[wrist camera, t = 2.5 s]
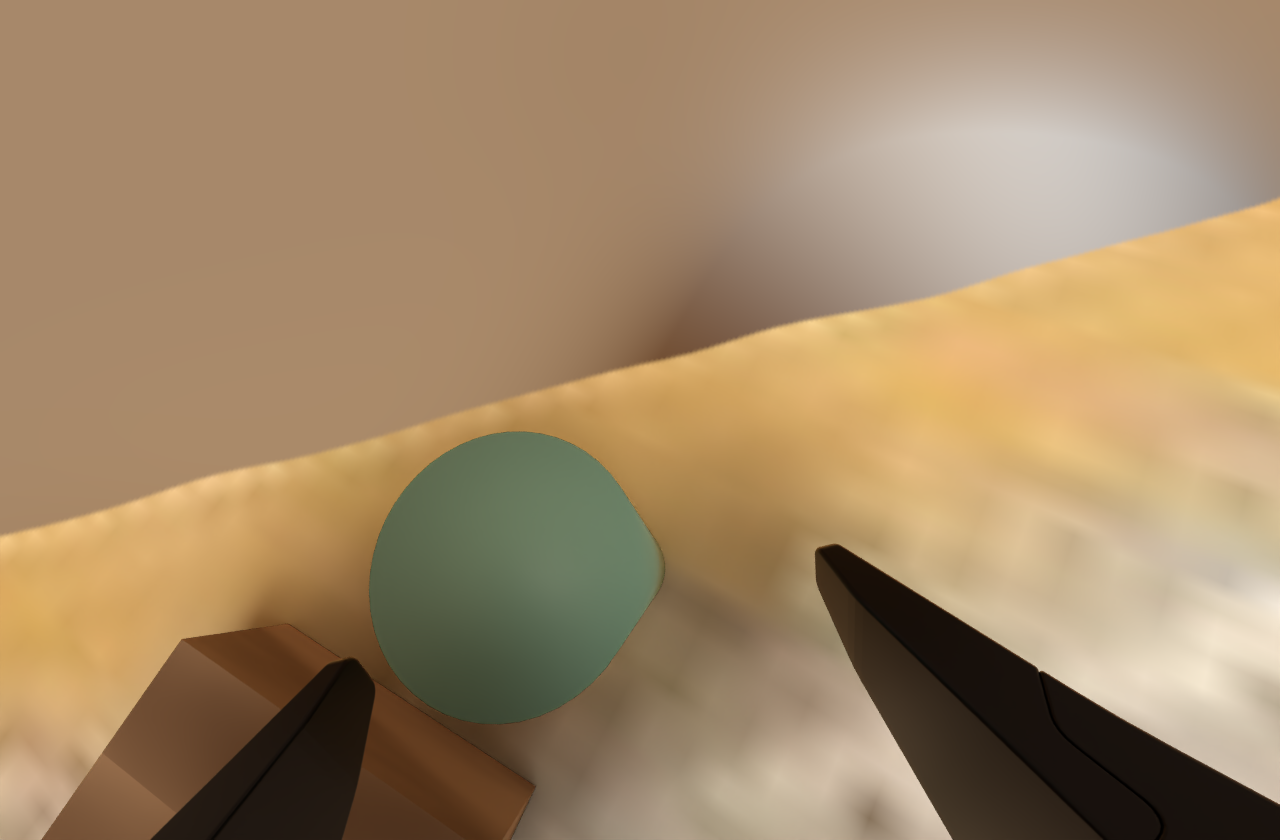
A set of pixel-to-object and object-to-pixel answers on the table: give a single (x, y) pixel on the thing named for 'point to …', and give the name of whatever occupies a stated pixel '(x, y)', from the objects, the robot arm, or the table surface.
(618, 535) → the peg
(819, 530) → the table surface
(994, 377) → the table surface
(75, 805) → the hole block
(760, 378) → the table surface
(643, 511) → the table surface
